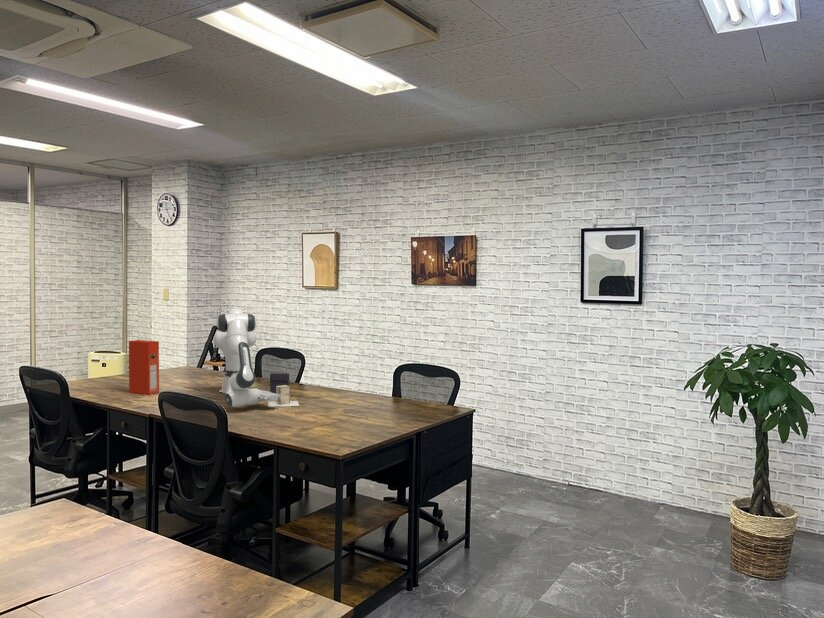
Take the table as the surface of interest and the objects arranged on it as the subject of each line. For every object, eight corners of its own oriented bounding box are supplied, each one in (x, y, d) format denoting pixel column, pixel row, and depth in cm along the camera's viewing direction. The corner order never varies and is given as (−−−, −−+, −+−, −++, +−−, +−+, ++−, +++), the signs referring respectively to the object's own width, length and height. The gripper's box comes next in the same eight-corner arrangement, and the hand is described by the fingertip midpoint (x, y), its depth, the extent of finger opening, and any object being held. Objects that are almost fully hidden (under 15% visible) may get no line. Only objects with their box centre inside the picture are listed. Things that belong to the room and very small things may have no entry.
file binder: (148, 395, 384) (148, 342, 382) (128, 392, 392) (128, 340, 390) (159, 393, 391) (159, 341, 389) (139, 390, 399) (139, 339, 397)
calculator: (289, 397, 384) (289, 373, 384) (287, 399, 380) (287, 374, 379) (271, 397, 385) (272, 372, 385) (269, 398, 381) (269, 373, 380)
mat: (267, 402, 368) (267, 401, 368) (297, 401, 372) (297, 400, 372) (268, 407, 355) (268, 406, 355) (299, 406, 359) (299, 405, 359)
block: (276, 403, 363) (276, 386, 363) (285, 402, 367) (285, 385, 367) (280, 404, 360) (280, 387, 359) (290, 403, 364) (290, 386, 363)
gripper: (264, 393, 343) (286, 390, 352) (245, 388, 358) (266, 386, 367) (263, 405, 343) (286, 402, 353) (245, 399, 358) (266, 396, 367)
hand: (276, 393), depth 360 cm, fingers open, 8 cm apart
